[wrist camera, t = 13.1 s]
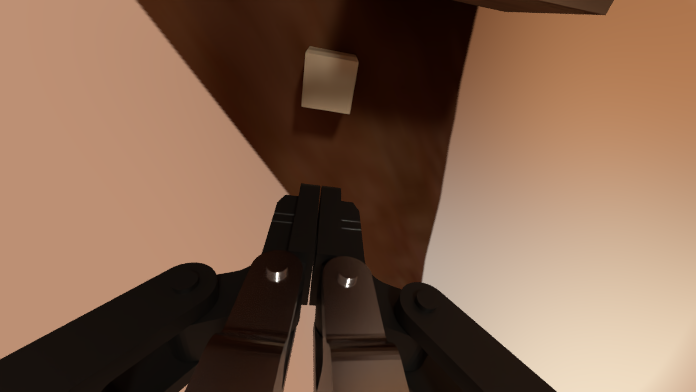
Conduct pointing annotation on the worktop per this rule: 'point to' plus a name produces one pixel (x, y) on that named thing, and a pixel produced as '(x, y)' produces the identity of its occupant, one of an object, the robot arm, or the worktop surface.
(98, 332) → the robot arm
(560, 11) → the walnut panel
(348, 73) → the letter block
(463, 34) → the worktop surface
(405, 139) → the worktop surface
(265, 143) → the worktop surface
